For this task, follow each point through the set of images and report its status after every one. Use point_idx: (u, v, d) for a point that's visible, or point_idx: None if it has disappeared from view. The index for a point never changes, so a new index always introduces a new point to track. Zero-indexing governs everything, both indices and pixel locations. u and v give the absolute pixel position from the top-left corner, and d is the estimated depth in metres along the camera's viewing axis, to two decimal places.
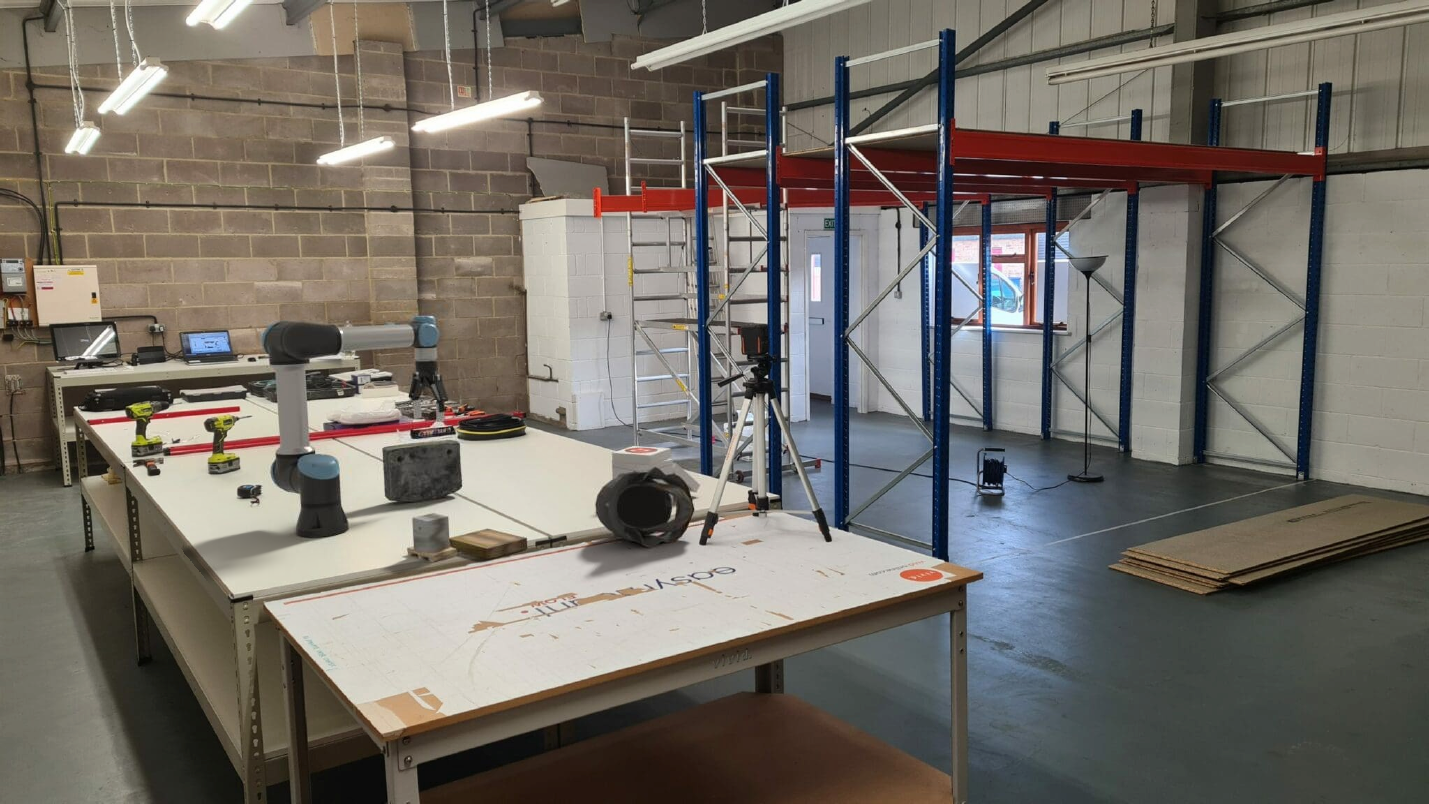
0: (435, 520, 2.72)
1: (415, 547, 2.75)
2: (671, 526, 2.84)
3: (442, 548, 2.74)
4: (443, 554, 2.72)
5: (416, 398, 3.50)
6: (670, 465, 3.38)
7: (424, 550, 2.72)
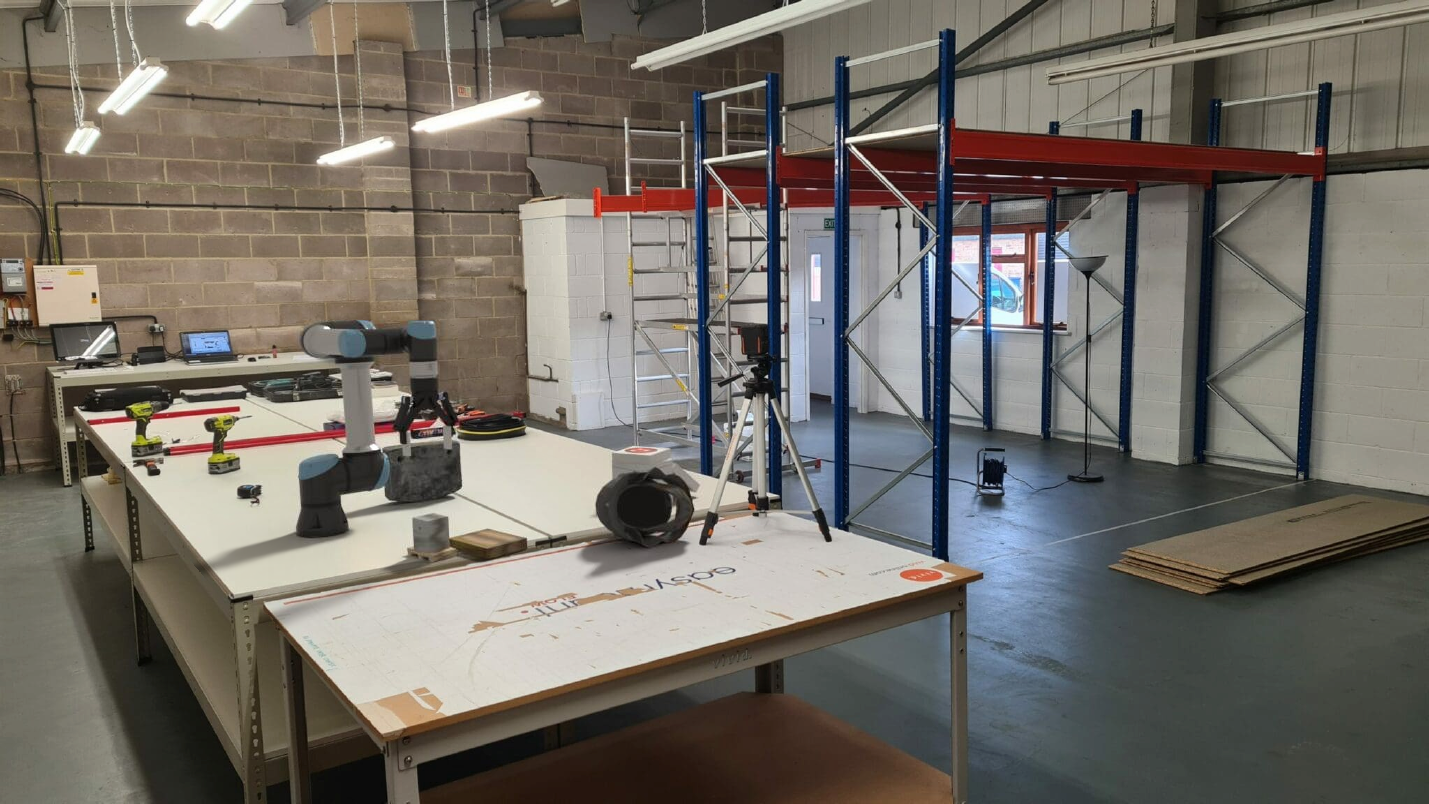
0: (435, 520, 2.72)
1: (415, 547, 2.75)
2: (671, 526, 2.84)
3: (442, 548, 2.74)
4: (443, 554, 2.72)
5: (447, 423, 2.79)
6: (670, 465, 3.38)
7: (424, 550, 2.72)
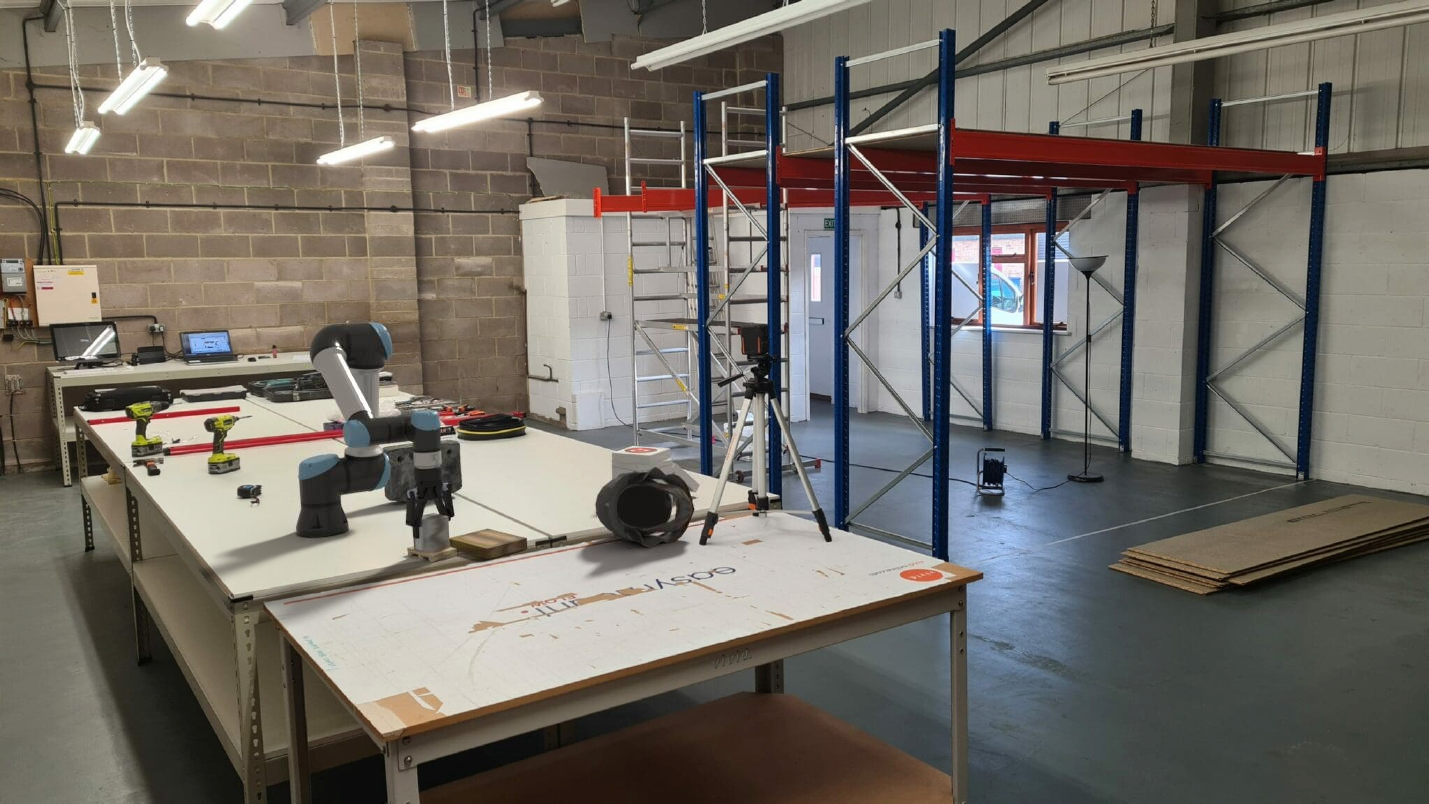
0: (435, 520, 2.72)
1: (415, 547, 2.75)
2: (671, 526, 2.84)
3: (442, 548, 2.74)
4: (443, 554, 2.72)
5: None
6: (670, 465, 3.38)
7: (424, 550, 2.72)
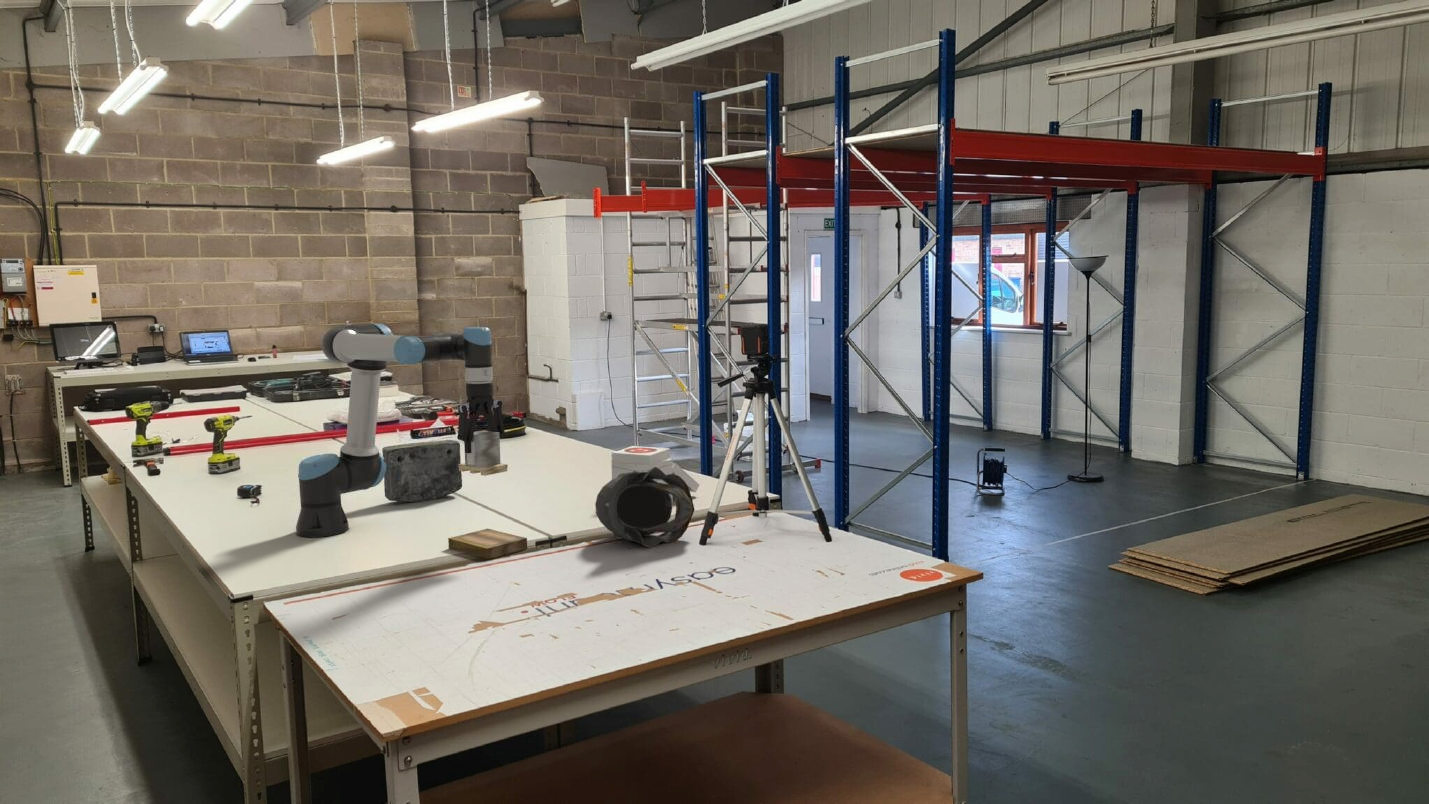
0: (487, 435, 2.75)
1: (466, 463, 2.78)
2: (671, 526, 2.84)
3: (493, 463, 2.78)
4: (495, 469, 2.75)
5: None
6: (669, 465, 3.38)
7: (476, 465, 2.75)
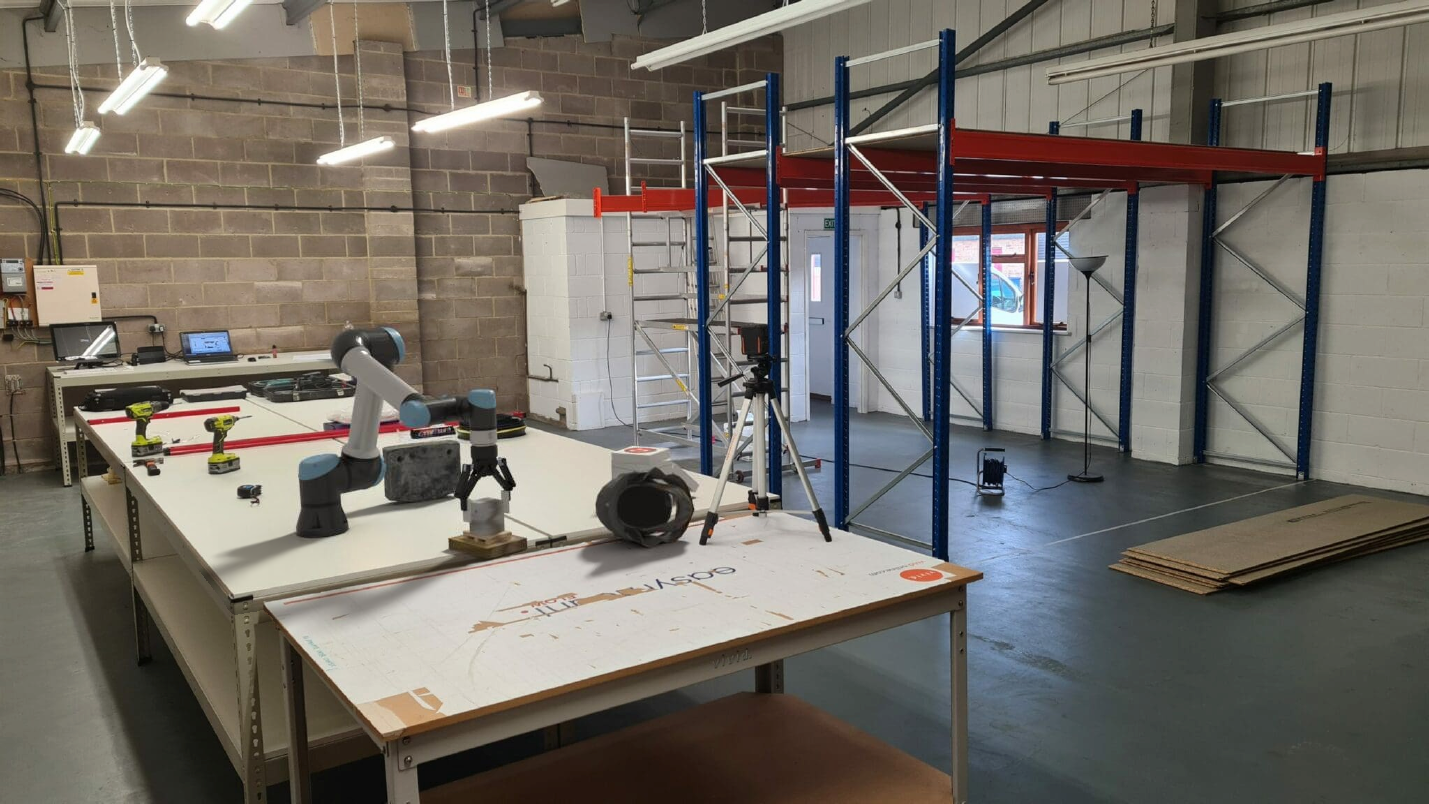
0: (491, 504, 2.78)
1: (471, 530, 2.81)
2: (671, 526, 2.84)
3: (497, 531, 2.80)
4: (499, 537, 2.78)
5: (505, 488, 2.86)
6: (669, 465, 3.38)
7: (480, 533, 2.78)
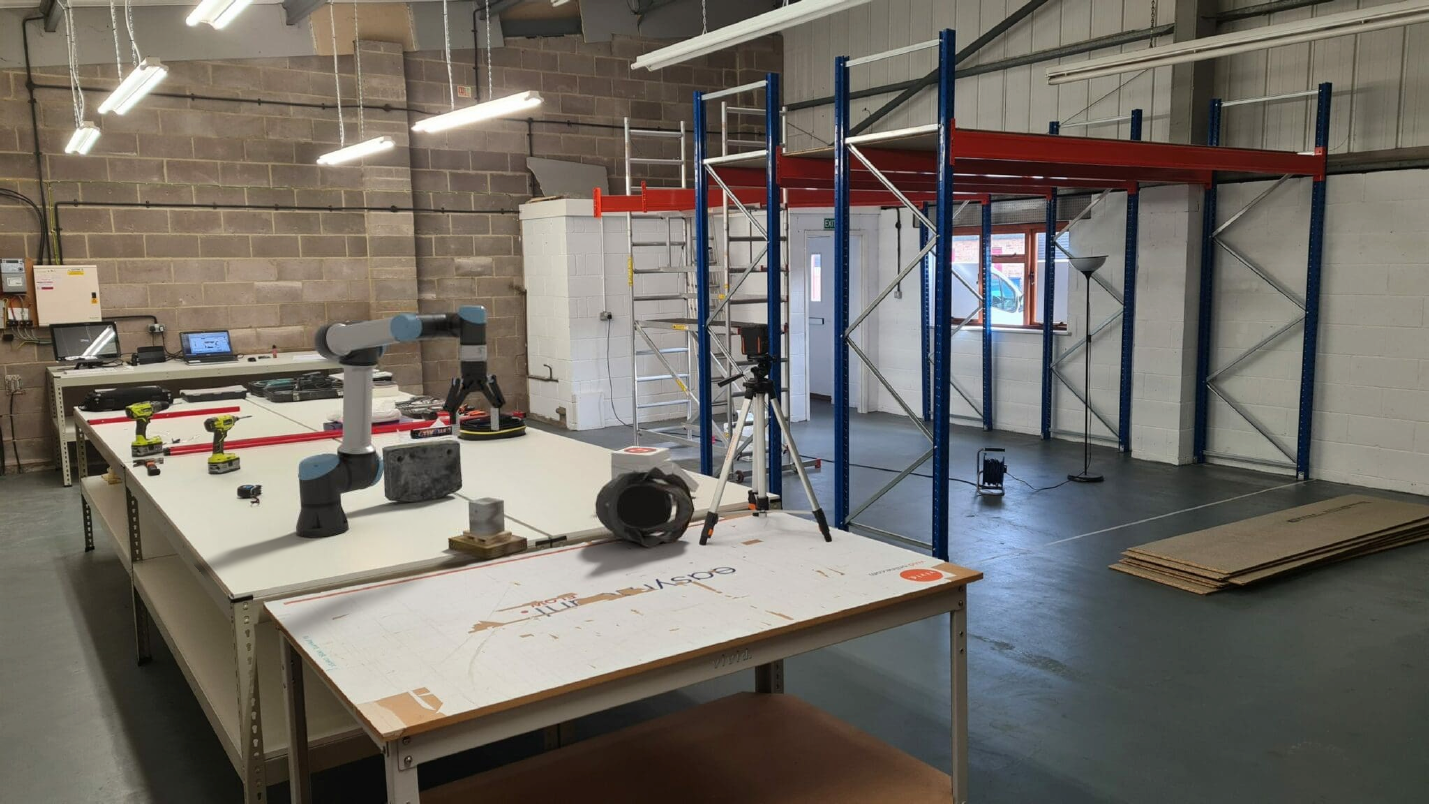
0: (491, 504, 2.78)
1: (471, 530, 2.81)
2: (671, 526, 2.84)
3: (497, 531, 2.80)
4: (499, 537, 2.78)
5: (495, 405, 2.89)
6: (669, 465, 3.38)
7: (480, 533, 2.78)
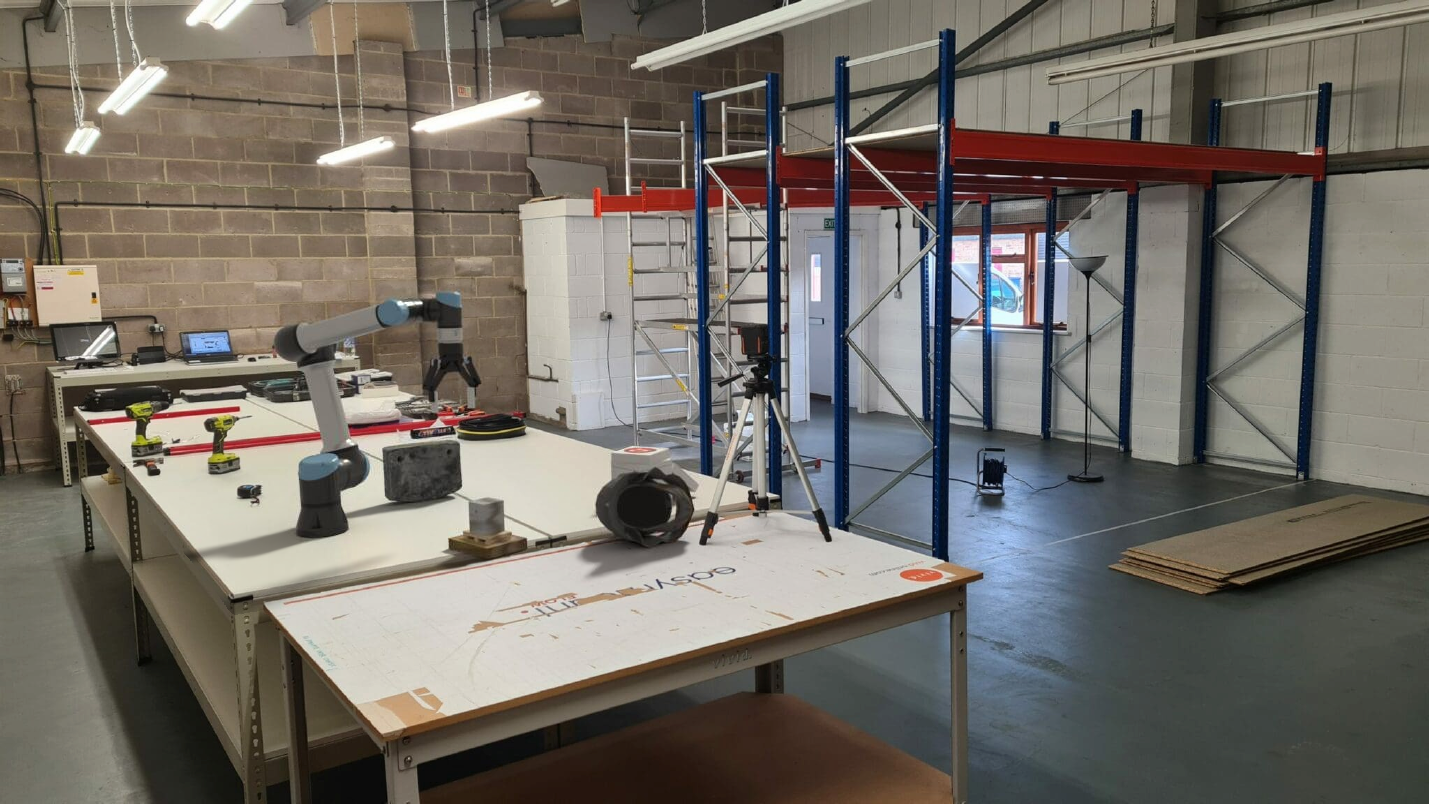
0: (491, 504, 2.78)
1: (471, 530, 2.81)
2: (671, 526, 2.84)
3: (497, 531, 2.80)
4: (499, 537, 2.78)
5: (471, 385, 3.09)
6: (669, 465, 3.38)
7: (480, 533, 2.78)
